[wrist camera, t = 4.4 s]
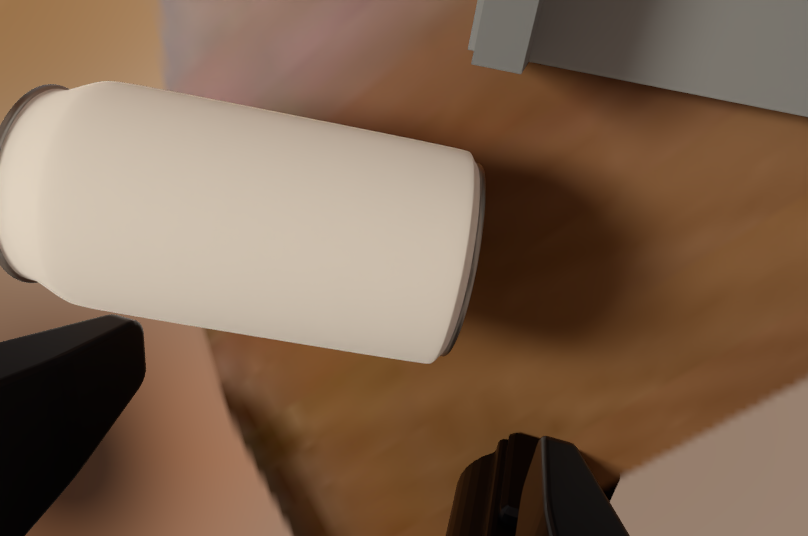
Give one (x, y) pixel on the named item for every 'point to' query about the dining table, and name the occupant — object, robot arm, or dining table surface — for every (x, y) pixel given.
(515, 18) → the u rest
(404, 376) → the dining table surface
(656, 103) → the dining table surface
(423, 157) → the can
